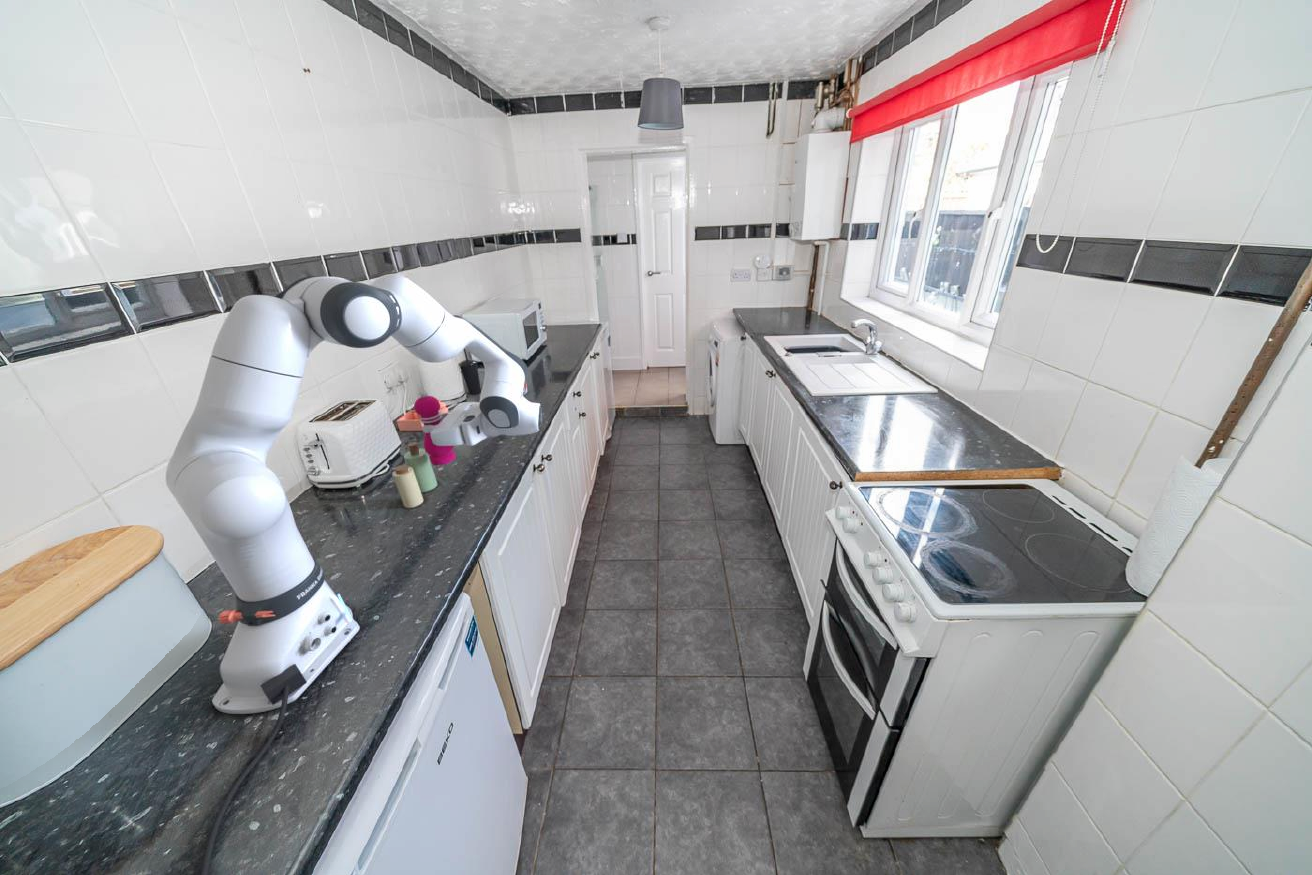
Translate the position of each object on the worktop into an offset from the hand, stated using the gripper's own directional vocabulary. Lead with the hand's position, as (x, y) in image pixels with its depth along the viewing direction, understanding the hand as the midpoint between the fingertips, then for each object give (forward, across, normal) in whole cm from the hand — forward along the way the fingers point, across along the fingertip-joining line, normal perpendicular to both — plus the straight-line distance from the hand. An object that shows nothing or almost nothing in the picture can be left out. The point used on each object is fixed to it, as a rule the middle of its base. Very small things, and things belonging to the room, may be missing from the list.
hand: (429, 423), depth 119 cm
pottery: (+26, -47, +21) cm, 58 cm away
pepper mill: (-1, 0, +11) cm, 11 cm away
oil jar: (+8, -3, +21) cm, 23 cm away
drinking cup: (+20, -80, +21) cm, 85 cm away
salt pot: (+8, +5, +21) cm, 23 cm away
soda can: (-1, -75, +21) cm, 78 cm away
